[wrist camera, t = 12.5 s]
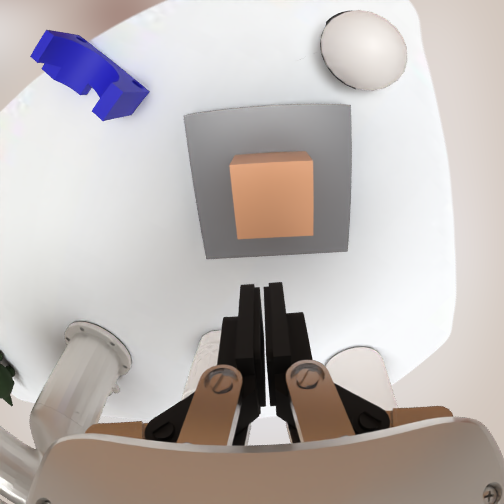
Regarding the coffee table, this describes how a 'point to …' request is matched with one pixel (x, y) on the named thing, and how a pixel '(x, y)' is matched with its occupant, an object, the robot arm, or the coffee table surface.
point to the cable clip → (89, 73)
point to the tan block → (273, 194)
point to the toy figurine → (6, 381)
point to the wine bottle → (363, 376)
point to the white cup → (202, 360)
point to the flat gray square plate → (262, 141)
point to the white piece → (363, 50)
